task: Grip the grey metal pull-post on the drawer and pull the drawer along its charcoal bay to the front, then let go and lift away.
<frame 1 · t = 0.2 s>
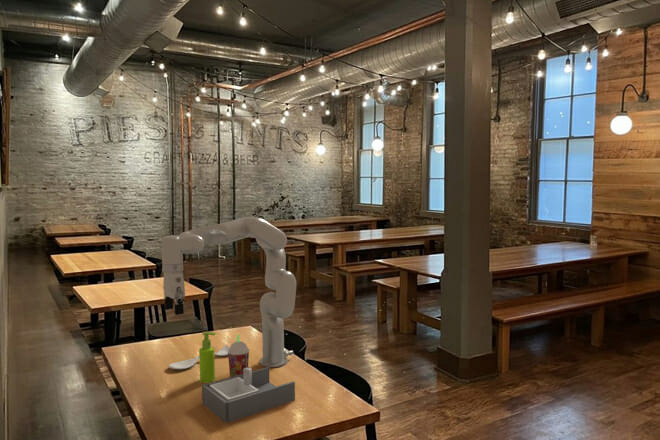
hand: (174, 311, 194), 31 cm above the table, tool pointing down, fingers open, 9 cm apart
smoothie: (239, 384, 202), on the table
bay: (249, 401, 186), on the table
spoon: (203, 362, 227), on the table
drawer: (235, 387, 182), point 7 cm above the table, slide at 0.0 cm
soap dispenser: (208, 380, 206), on the table
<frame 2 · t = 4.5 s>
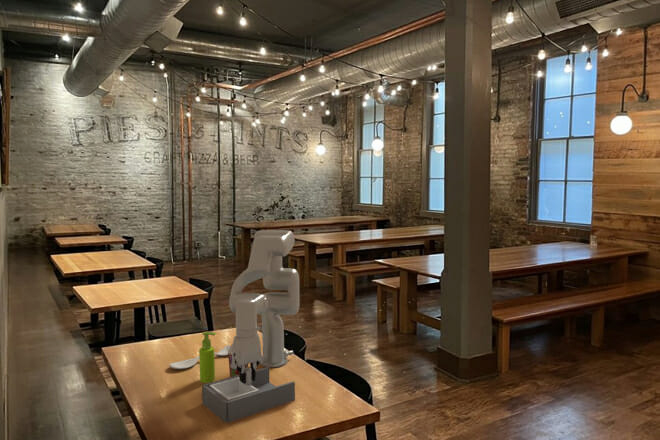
hand: (247, 380, 185), 8 cm above the table, tool pointing down, fingers closed on drawer, 3 cm apart
drawer: (235, 387, 182), point 7 cm above the table, slide at 0.0 cm, touching gripper
everything else where it was.
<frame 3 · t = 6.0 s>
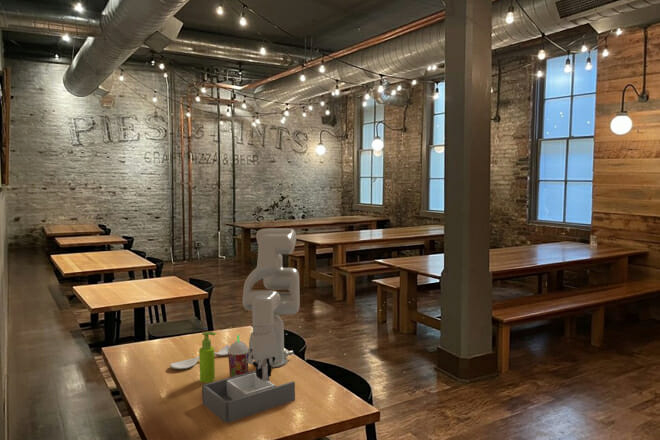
hand: (263, 376, 189), 8 cm above the table, tool pointing down, fingers closed on drawer, 3 cm apart
drawer: (252, 382, 186), point 7 cm above the table, slide at 6.9 cm, touching gripper
everything else where it was.
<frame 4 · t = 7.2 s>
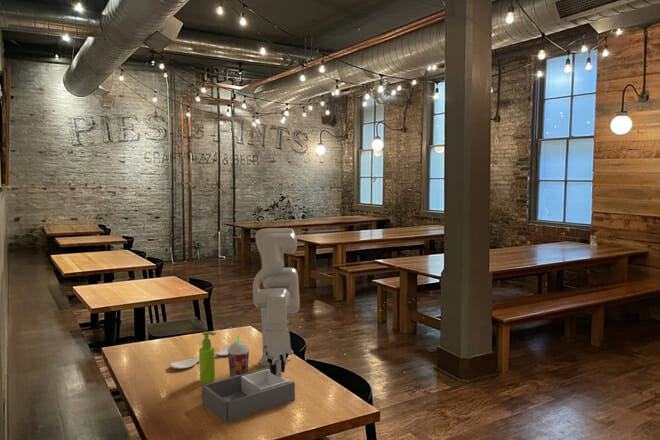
hand: (277, 372, 193), 8 cm above the table, tool pointing down, fingers closed on drawer, 3 cm apart
drawer: (266, 378, 190), point 7 cm above the table, slide at 12.9 cm, touching gripper
everything else where it was.
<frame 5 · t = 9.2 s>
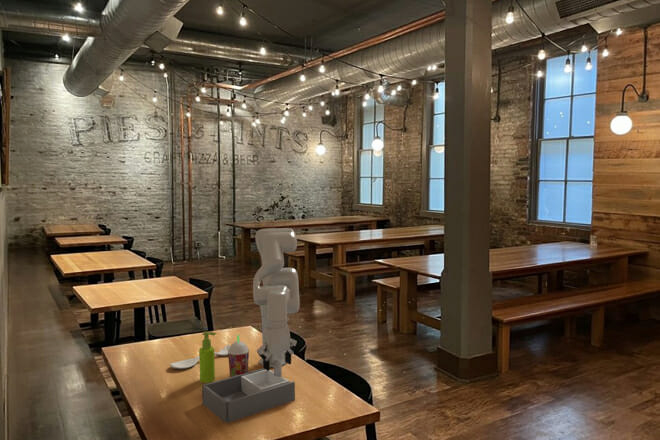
hand: (277, 366, 193), 10 cm above the table, tool pointing down, fingers open, 9 cm apart
drawer: (266, 378, 190), point 7 cm above the table, slide at 13.0 cm
everything else where it was.
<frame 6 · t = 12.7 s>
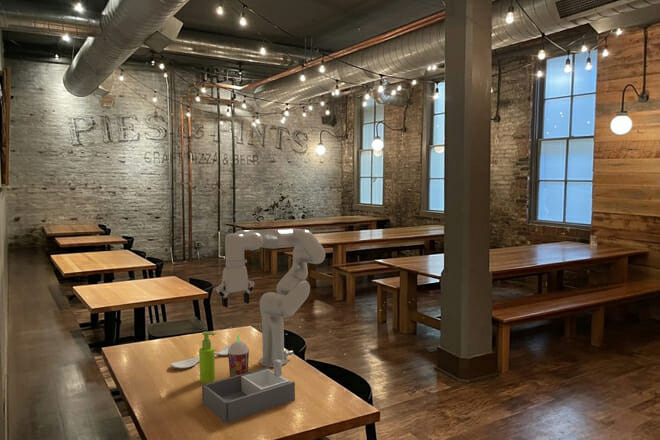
hand: (236, 304, 207), 30 cm above the table, tool pointing down, fingers open, 9 cm apart
at the end: drawer slide at 13.0 cm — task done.
